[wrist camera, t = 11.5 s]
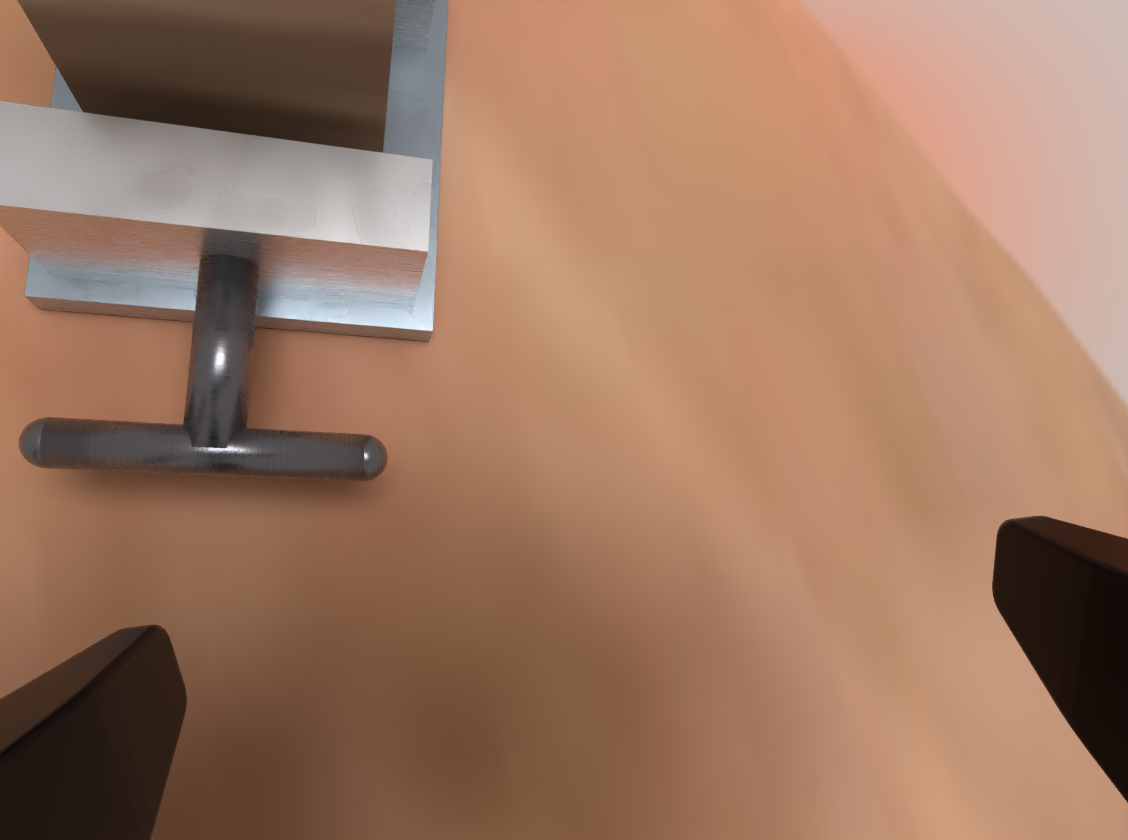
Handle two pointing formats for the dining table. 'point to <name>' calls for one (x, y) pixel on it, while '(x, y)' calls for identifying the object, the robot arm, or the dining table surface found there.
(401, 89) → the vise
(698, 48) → the dining table surface
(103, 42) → the walnut slab
